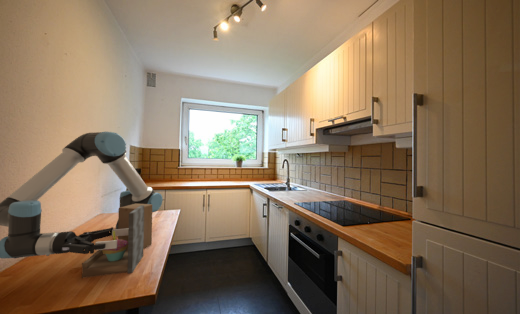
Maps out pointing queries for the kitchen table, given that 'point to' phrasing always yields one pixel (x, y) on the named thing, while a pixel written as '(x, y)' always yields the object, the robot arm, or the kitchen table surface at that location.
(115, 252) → the cupcake
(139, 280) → the kitchen table surface
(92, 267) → the wooden bookend
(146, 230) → the wooden block
